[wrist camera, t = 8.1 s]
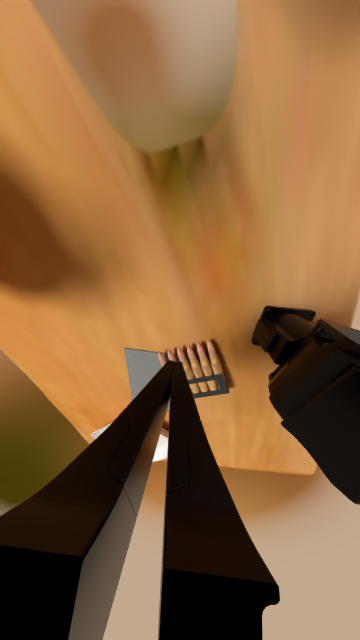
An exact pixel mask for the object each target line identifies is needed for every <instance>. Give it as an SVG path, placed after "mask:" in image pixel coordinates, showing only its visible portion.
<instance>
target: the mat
mask: <svg viewBox="0 0 360 640" xmlns="http://www.w3.org/2000/svg"><path fill="white" fill-rule="evenodd" d="M124 350H125V356H126V362H127V369H128V375H129V381H130V388H131V394H132V400H133V399H134V398H135V397H136V396H137V395H138V394H139V392H140V391H141V390H142V389H143V388H144V387H145V386H146V385H147V383H148V382H149V381H150V380H151V379H152V378H153V377H154V376H155V374H156V373H157V372H158V371H159V370H160V369H161V368H162V365H161V363H160V360H159V357H158V352H152V351H145V350H137V349H130V348H125V349H124ZM162 354H163V355H164V357H165V358H166V360H167V361H168V360H169V357H168V354H167V353H162ZM174 356H175V357H176V359H177V361H180V360H179V357H178V355H174ZM186 358H187V360H188V362H189V363H190V365H191V362H190V359H189V356H186ZM191 368H192V367H191ZM169 409H170V401H169V405H168V408H167V411H169Z"/></svg>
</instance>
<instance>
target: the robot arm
mask: <svg viewBox="0 0 360 640" xmlns="http://www.w3.org/2000/svg"><path fill="white" fill-rule="evenodd" d="M267 309H269V310H268V311H267ZM310 313H311V314H310ZM309 314H310V315H309ZM315 315H316V313H315V312H314V311H312V310H305V309H295V308H285V307H276V306H266V307H265V308H264V310H263V312H262V315H261V317H260V319H259V320H258V322H257V325H256V328H255V330H254V333H253V338H252V340H251V342H252V344H253V345H259V346H261V347H262V348H263V350H264V351H265V352H268V354H269V355H270V357H271V358H272V360H273V361H274V362H275V364H278V365H279V366H278V367H277V369H276V370H275V371H274V372H273V373H271V374H270V375H269V385H268V387H269V392H270V396H269V399H270V401H271V403H272V405H273V407H274V408H275V410H276V411H277V413H278V414H279V415H280V417H281V418H282V419H283V421H282V422H281V425H282V426H283V427H284V428H285V429H286V430H287V431H289V432H290V433H291V434H292V435H293V436H294V437H295V438H296V439H297V440H298V441H299V442H300V443H301V444H302V445H303V447H304V448H305V449H306V450H307V451H308V453H309V454H310V455H311V456H312V458H313V459H314V460H315V462H316V463H317V464H318V466H319V467H320V468H321V470H322V471H323V473H324V474H325V475H326V477H327V478H328V479H329V481H330V482H331V483H332V484H333V485H334V486H335V487H336V488H337V489H338V490H340V491H341V492H342V493H343V494H344V495H345V496H346V497H347V498H348V499H350V500H351V501H352V502H353V503H355V504H358V505H359V504H360V331H359V330H356V329H352V328H350V327H346V326H343V325H340V324H337V323H334V322H331V321H328V320H325V319H322V318H321V319H320V320H319V321H318V322H317V325H314V324H313V323H311V321H312V320H313V318H314V316H315ZM255 341H256V342H255ZM169 401H170V409H169V429H168V449H167V469H166V489H165V508H164V528H163V548H162V569H161V588H160V589H161V590H160V609H159V627H158V628H159V629H158V640H262V613H263V610H264V609H265V607H267V606H269V605H276V604H277V603H279V601H280V597H279V596H280V595H279V586H278V585H277V583H276V581H275V580H274V578H273V576H272V575H271V573H270V571H269V570H268V568H267V566H266V564H265V563H264V561H263V559H262V558H261V556H260V554H259V553H258V551H257V549H256V547H255V546H254V544H253V542H252V540H251V538H250V536H249V534H248V532H247V530H246V528H245V526H244V524H243V522H242V520H241V517H240V516H239V513H238V511H237V509H236V506H235V504H234V502H233V499H232V497H231V495H230V493H229V490H228V488H227V486H226V483H225V481H224V479H223V476H222V474H221V472H220V469H219V467H218V465H217V462H216V460H215V458H214V455H213V453H212V450H211V448H210V445H209V443H208V440H207V437H206V434H205V431H204V428H203V425H202V422H201V420H200V416H199V413H198V410H197V407H196V404H195V401H194V397H193V394H192V391H191V388H190V385H189V382H188V379H187V376H186V373H185V369H184V366H183V363H182V362H180V361H173V360H168V361H167V362H166V363H165V364H164V365H163V367H162V368H161V369H160V370H159V371H158V372H157V373H156V374H155V376H154V377H153V378H152V379H151V380H150V381H149V382H148V383H147V385H146V386H145V387H144V388H143V389H142V390H141V391H140V392H139V394H138V395H137V396H136V397H135V398H134V399H133V400H132V401H131V403H130V404H129V405H128V406H127V408H125V409H124V410H123V411H122V413H121V414H120V415H119V416H118V417H117V418H116V419H115V420H114V421H113V422H112V423H111V424H110V425H109V426H108V427H107V428H106V429H105V430H104V431H103V432H102V433H101V434H100V435H99V436H98V437H97V438H96V439H95V440H94V441H93V442H92V443H91V444H90V445H89V446H88V447H87V448H86V449H85V450H84V451H83V452H81V453H80V454H79V455H78V456H77V457H76V458H75V459H74V460H73V461H72V462H71V463H70V464H69V465H68V466H67V467H66V468H65V469H63V470H62V471H61V472H60V473H59V474H58V475H57V476H56V477H55V478H54V479H52V480H51V481H50V482H49V483H48V484H46V485H45V486H44V487H43V488H41V489H40V490H39V491H37V492H36V493H35V494H33V495H32V496H30V497H29V498H27V499H26V500H24V501H23V502H21V503H20V504H18V505H17V506H15V507H13V508H12V509H10V510H9V511H7V512H6V513H4V514H3V515H1V516H0V640H102V639H103V635H104V632H105V629H106V625H107V622H108V618H109V615H110V611H111V607H112V603H113V600H114V597H115V593H116V590H117V586H118V583H119V579H120V575H121V572H122V568H123V565H124V561H125V557H126V554H127V550H128V547H129V543H130V540H131V536H132V532H133V529H134V526H135V522H136V517H137V515H138V511H139V508H140V504H141V500H142V497H143V493H144V490H145V486H146V483H147V479H148V476H149V472H150V469H151V465H152V462H153V458H154V454H155V451H156V447H157V444H158V440H159V437H160V433H161V430H162V426H163V422H164V419H165V415H166V412H167V408H168V405H169Z"/></svg>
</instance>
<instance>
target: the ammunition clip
mask: <svg viewBox="0 0 360 640" xmlns="http://www.w3.org/2000/svg"><path fill="white" fill-rule="evenodd" d="M207 347H208V352H209V356H210V362H209V360H208V358H207V356H206V354H205V351H204V349H203V347H202V345H201V344H200V343H199V342H198V343H197V351H198V354H199V358H200V363H199V361H198V360H197V357H196V355H195V353H194V351H193V349H192V348H191V347H190V346H189V345H187V352H188V356H189V359H190V362H191V365H190V363H189V362H188V360H187V358H186V356H185V354H184V353H183V351H182V350H181V349H180V348H179V347H177V353H178V357H179V360H180V362H182V363H183V366H184V369H185V373H186V376H187V379H188V382H189V385H190V388H191V391H192V394H193V397H194V398H200V397H206V396H213V395H220V394H227V393H229V388H228V385H227V382H226V379H225V377H224V373H223V370H222V366H221V363H220V360H219V358H218V356H217V353H216V351H215V348H214V346H213V344H212V342H211V341H210V340H208V342H207ZM158 357H159V360H160V363H161V365H162V367H163V365H164V364H165V363H166V362H167V360H166V358H165V357H164V355H163V354H162V353H161V352H158ZM168 357H169V360H173V361H177V359H176V357H175V356H174V354H173V353H172V352H171V351H170V350H169V349H168ZM210 363H211V365H210ZM200 364H201V365H200ZM211 366H212V368H211ZM191 367H192V368H191ZM201 367H202V368H201ZM202 369H203V370H202ZM213 373H214V374H213ZM204 375H205V376H204Z"/></svg>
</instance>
